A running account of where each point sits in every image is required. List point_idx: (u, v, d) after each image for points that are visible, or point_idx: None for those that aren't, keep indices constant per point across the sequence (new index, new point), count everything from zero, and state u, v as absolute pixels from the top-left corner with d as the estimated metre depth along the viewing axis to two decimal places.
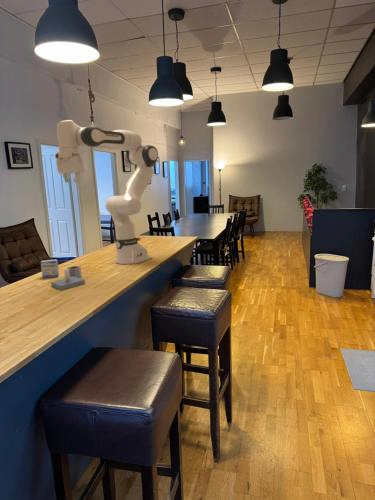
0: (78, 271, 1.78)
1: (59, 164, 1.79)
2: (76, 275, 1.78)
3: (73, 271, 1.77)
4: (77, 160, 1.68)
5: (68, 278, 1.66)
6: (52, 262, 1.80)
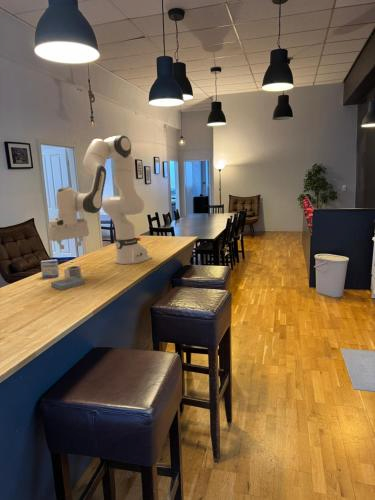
0: (78, 271, 1.78)
1: (56, 231, 1.69)
2: (76, 275, 1.78)
3: (73, 271, 1.77)
4: None
5: (68, 278, 1.66)
6: (52, 262, 1.80)
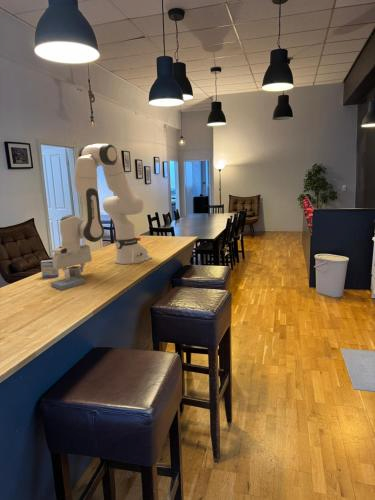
0: (78, 271, 1.78)
1: (60, 259, 1.72)
2: (76, 275, 1.78)
3: (73, 271, 1.77)
4: None
5: (68, 278, 1.66)
6: (52, 262, 1.80)
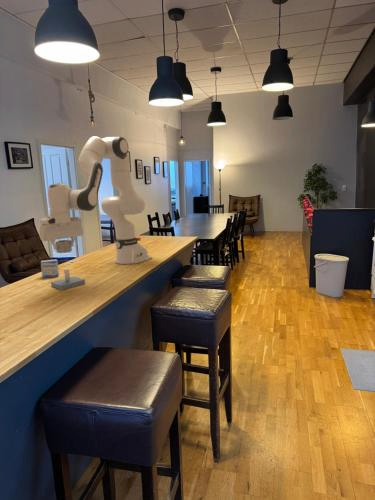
0: (68, 245, 1.63)
1: (48, 230, 1.57)
2: (65, 249, 1.62)
3: (62, 244, 1.61)
4: None
5: (68, 278, 1.66)
6: (52, 262, 1.80)
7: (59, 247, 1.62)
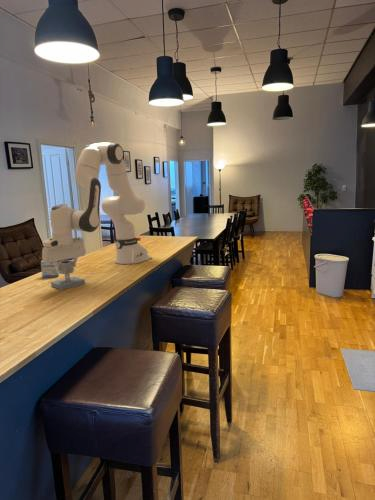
0: (70, 266, 1.64)
1: (51, 252, 1.57)
2: (68, 270, 1.63)
3: (65, 265, 1.62)
4: None
5: (68, 278, 1.66)
6: (52, 262, 1.80)
7: (62, 268, 1.62)
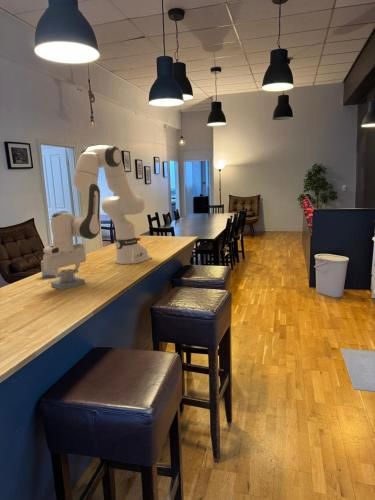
0: (71, 274, 1.65)
1: (51, 259, 1.58)
2: (69, 279, 1.64)
3: (66, 274, 1.63)
4: None
5: None
6: None
7: (63, 277, 1.63)
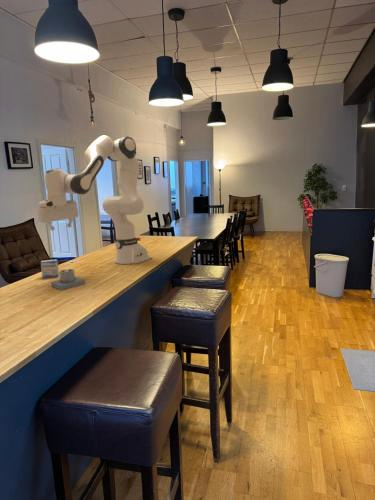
0: (71, 274, 1.65)
1: (46, 212, 1.71)
2: (69, 279, 1.64)
3: (66, 274, 1.63)
4: None
5: None
6: (52, 262, 1.80)
7: (63, 277, 1.63)
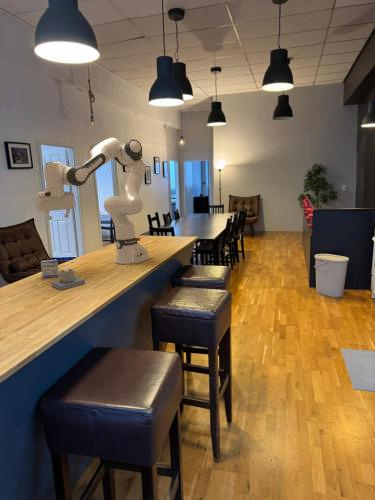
0: (71, 274, 1.65)
1: (44, 202, 1.79)
2: (69, 279, 1.64)
3: (66, 274, 1.63)
4: None
5: None
6: (52, 262, 1.80)
7: (63, 277, 1.63)
